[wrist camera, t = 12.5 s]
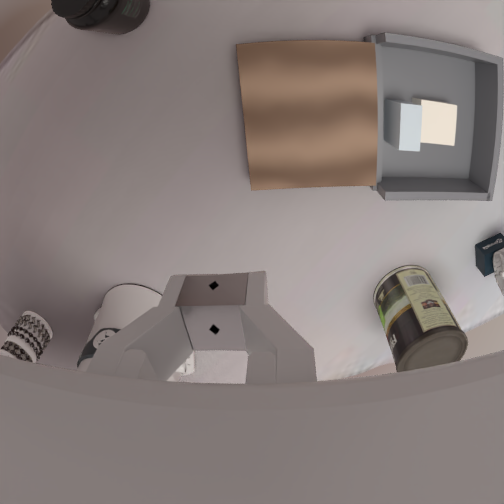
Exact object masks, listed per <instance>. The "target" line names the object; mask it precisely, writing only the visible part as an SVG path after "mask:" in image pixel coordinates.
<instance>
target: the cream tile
mask: <svg viewBox="0 0 504 504" xmlns="http://www.w3.org/2000/svg"><path fill="white" fill-rule="evenodd" d="M412 103H415V104H418V105H422V126H421V141H420V142H421V143H432V144H442V145H451V146H454V144H455V133H456V119H457V105H454V104H451V103H447V102H441V101H435V100H428V99H421V98H413V97H412Z"/></svg>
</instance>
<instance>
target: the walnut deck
mask: <svg viewBox="0 0 504 504" xmlns="http://www.w3.org/2000/svg"><path fill="white" fill-rule="evenodd" d="M236 48H237V58H238V67H239V77H240V87H241V96H242V106H243V115H244V125H245V135H246V145H247V155H248V164H249V174H250V184H251V191H252V190H267V189H285V188H306V187H332V186H376V174H377V145H378V97H377V69H376V52H375V43H370V42H357V41H335V40H293V41H271V42H257V43H245V44H236Z"/></svg>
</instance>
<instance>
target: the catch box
mask: <svg viewBox="0 0 504 504" xmlns="http://www.w3.org/2000/svg"><path fill="white" fill-rule="evenodd" d="M364 42H370V43H375V52H376V69H377V97H378V145H377V174H376V186H370V188H371V189H372V190H373V191H378V193H379V194H380V195H381V196H382V198H383V199H384V200H385V201H386V200H477V201H492V199H493V193H494V188H495V182H496V175H497V169H498V161H499V153H500V144H501V134H502V120H503V98H504V70H503V58H501V57H498V56H495V55H491V54H488V53H485V52H481V51H478V50H474V49H470V48H467V47H463V46H459V45H454V44H450V43H445V42H441V41H436V40H431V39H425V38H420V37H414V36H407V35H400V34H393V33H382V34H379V35H370V36H367V37H364ZM412 97H413V98H421V99H428V100H435V101H441V102H447V103H451V104H454V105H457V119H456V133H455V144H454V146H451V145H442V144H432V143H421V142H420V152H419V151H404V150H398V149H396V148H395V147H393V146H392V145H391V144H389V143H388V142H386V141H384V113H385V99H394V100H403V101H408V102H411V103H412Z"/></svg>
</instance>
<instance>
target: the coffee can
mask: <svg viewBox="0 0 504 504" xmlns="http://www.w3.org/2000/svg"><path fill="white" fill-rule="evenodd" d="M374 304H375V307H376V309H377V311H378V314H379V316H380V319H381V322H382V325H383V328H384V331H385V334H386V337H387V340H388V343H389V346H390V348H391V352H392V355H393V358H394V361H395V364H396V370H397V372H403V371H409V370H415V369H421V368H427V367H432V366H438V365H443V364H448V363H452V362H457V361H460V360H461V358H462V357H463V355H464V354H465V352H466V349H467V346H468V340H467V337H466V335H465V333H464V332H463V331H462V330H461V328H460V326H459V324H458V322H457V321H456V319H455V317H454V315H453V314H452V312H451V310H450V308H449V307H448V305H447V303H446V301H445V300H444V298H443V296H442V295H441V293H440V291H439V290H438V288H437V287H436V285H435V283H434V282H433V280H432V278H431V276H430V274H429V273H428V271H427V270H425V269H424V268H422V267H419V266H413V265H410V266H404V267H400V268H398V269H395V270H393V271H392V272H390V273H389V274H387V275H386V276H385V277H384V278H383V279H382V280H381V281H380V283H379V284H378V286H377V288H376V290H375V293H374Z"/></svg>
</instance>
